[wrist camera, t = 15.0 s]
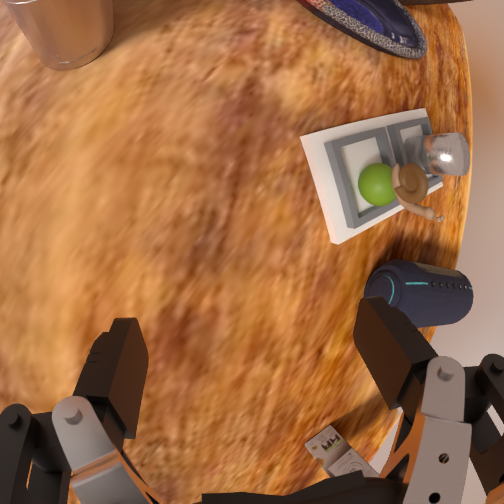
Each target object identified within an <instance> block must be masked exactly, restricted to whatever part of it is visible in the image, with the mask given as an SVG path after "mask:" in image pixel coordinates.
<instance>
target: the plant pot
mask: <svg viewBox="0 0 504 504" xmlns="http://www.w3.org/2000/svg"><path fill="white" fill-rule="evenodd" d="M398 1H399V2H400V3H401V4H402V5H429V4H444V3H455V2H464V1H471V0H398Z"/></svg>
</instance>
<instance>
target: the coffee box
mask: <svg viewBox="0 0 504 504" xmlns="http://www.w3.org/2000/svg"><path fill="white" fill-rule="evenodd" d="M305 446H306V448H307V449H308V450H309V452H310V453H311V454H312V455H313V457H314V458H315V459H316V460H317V462H318V463H319V464H320V465H321V467H322V468H323V469H324V470H325V472H326V473H327V474H328V475H329V476H330V478H332V477H336V476H340V475H344V474H347V473H351V472H354V471H358V470H362V472H363V475H364V477H379V474H378V473H377V472H376V471H375V470H374V469H373V468H372V467H371V466H370V465H369V464H368V463H367V462H366V461H365V460H364V459H363V458H362V457H361V456H360V455H359V454H358V453H357V452H356V451H355V450H354V449H353V448H352V447H351V446H350V445H349V444H348V443H347V442H346V441H345V440H344V438H343V437H342V436H341V435H340V434H339V433H338V432H337V431H336V430H335V429H334V428H333V427H332V426H331V425H329V426H327V427H326V428H325V429H324V430H322V431H321V432H320V433H318V434H317V435H316V436H314V437H313V438H312V439H310V440H309V441H308V442H306V443H305Z"/></svg>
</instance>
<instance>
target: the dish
mask: <svg viewBox="0 0 504 504" xmlns="http://www.w3.org/2000/svg"><path fill="white" fill-rule="evenodd" d="M297 1H298V2H300V3H301V4H302V5H303V6H304V7H305V8H307V9H308V10H309V11H311V12H312V13H313V14H315V15H316V16H318V17H319V18H321V19H322V20H324V21H326V22H327V23H329V24H330V25H332V26H334V27H336V28H337V29H339V30H341V31H342V32H344V33H346V34H348V35H350V36H351V37H353V38H355V39H357V40H359V41H361V42H363V43H365V44H367V45H369V46H371V47H373V48H376V49H378V50H380V51H383V52H386V53H389V54H392V55H396V56H399V57H406V58H412V59H418V58H421V57H423V56H424V55H425V54H426V52H427V42H426V39H425V36H424V34H423V32H422V30H421V28H420V27H419V25H418V24H417V22H416V21H415V19H414V18H413V17H412V15H411V14H410V13H409V12H408V11H407V9H406V8H405V7H404V6H403V5H402V4H401V3H400V2H399V1H398V0H297Z"/></svg>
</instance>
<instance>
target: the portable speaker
mask: <svg viewBox="0 0 504 504" xmlns="http://www.w3.org/2000/svg"><path fill="white" fill-rule="evenodd" d="M379 295H380V296H382V297H383V298H384V299H385V300H386V301H387V302H388V304H389V305H390V306H391V307H393V306H394V307H396V308H397V309H399V310H400V311H402V312H404V313H405V314H406V315H407V317H408V318H409V319H410V320H411V321H412V324H414V325H415V326H416V328H421V327H431V326H439V325H447V324H453V323H456V322H458V321H459V320H461V319H462V318H463V317H465V316H466V315H467V314H468V313H469V311H470V309H471V307H472V303H473V290H472V286H471V283H470V281H469V280H468V279H467V277H466V276H465V275H463V274H462V273H461V272H459V271H456V270H452V269H447V268H442V267H438V266H432V265H428V264H423V263H418V262H413V261H407V260H399V259H394V260H390V261H388V262H386V263H385V264H383V265H382V266H381V267H379V268H378V269H377V270H375V271H374V272H373V274H372V275H371V277H370V278H369V280H368V282H367V284H366V287H365V291H364V297H363V298H366V297H372V296H379Z"/></svg>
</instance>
